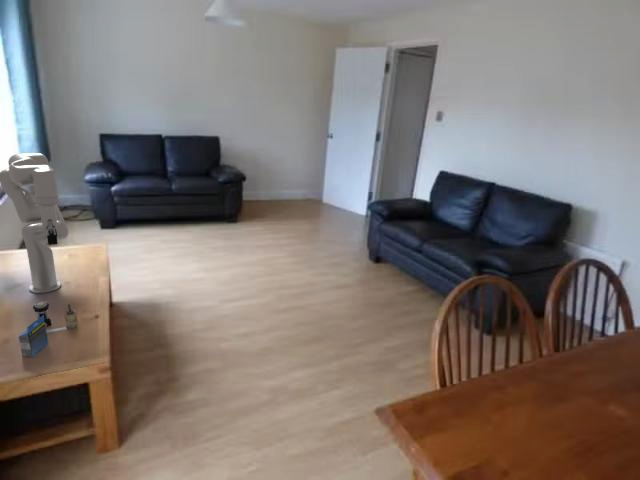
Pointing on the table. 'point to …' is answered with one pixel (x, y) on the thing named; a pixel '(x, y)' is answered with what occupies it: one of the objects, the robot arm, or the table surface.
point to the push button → (42, 312)
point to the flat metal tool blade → (56, 329)
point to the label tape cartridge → (33, 338)
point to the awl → (71, 318)
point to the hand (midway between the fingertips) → (52, 240)
